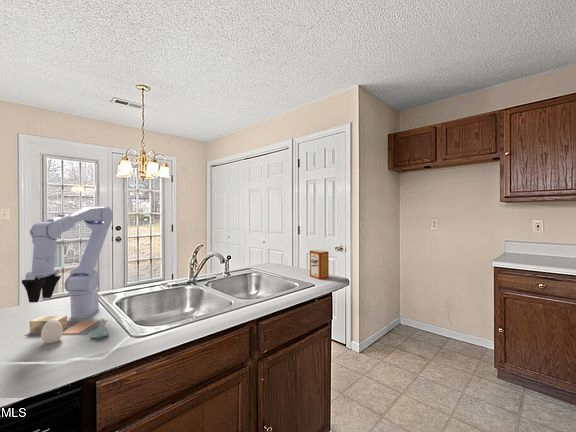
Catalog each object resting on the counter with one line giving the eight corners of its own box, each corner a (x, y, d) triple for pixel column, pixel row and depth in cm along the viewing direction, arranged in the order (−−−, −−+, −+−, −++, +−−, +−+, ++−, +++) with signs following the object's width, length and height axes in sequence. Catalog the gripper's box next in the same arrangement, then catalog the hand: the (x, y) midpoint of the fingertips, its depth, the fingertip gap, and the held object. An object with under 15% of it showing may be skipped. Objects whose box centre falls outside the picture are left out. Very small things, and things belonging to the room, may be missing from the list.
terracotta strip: (81, 321, 105) (81, 321, 105) (98, 321, 106) (98, 320, 106) (59, 334, 95) (59, 333, 95) (78, 333, 95) (78, 333, 95)
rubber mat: (52, 322, 106) (52, 321, 106) (108, 322, 106) (108, 320, 106) (23, 337, 94) (23, 335, 94) (85, 336, 94) (85, 334, 94)
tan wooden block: (29, 333, 96) (29, 321, 96) (40, 327, 100) (40, 316, 100) (57, 332, 96) (57, 320, 96) (67, 327, 100) (66, 315, 100)
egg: (65, 338, 93) (64, 315, 93) (59, 345, 88) (59, 321, 88) (45, 341, 91) (44, 318, 91) (38, 348, 86) (37, 324, 86)
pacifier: (86, 346, 88) (109, 340, 92) (85, 326, 88) (108, 321, 92) (86, 337, 94) (108, 332, 98) (85, 318, 94) (107, 314, 98)
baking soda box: (309, 276, 175) (309, 250, 175) (318, 274, 179) (318, 249, 178) (320, 279, 167) (319, 251, 167) (328, 278, 171) (328, 250, 171)
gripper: (42, 257, 102) (39, 296, 101) (15, 259, 88) (11, 304, 87) (65, 257, 104) (62, 295, 103) (42, 258, 90) (38, 303, 89)
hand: (40, 299), depth 95 cm, fingers open, 7 cm apart
